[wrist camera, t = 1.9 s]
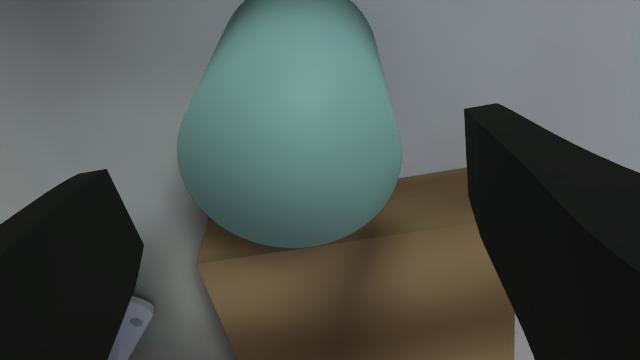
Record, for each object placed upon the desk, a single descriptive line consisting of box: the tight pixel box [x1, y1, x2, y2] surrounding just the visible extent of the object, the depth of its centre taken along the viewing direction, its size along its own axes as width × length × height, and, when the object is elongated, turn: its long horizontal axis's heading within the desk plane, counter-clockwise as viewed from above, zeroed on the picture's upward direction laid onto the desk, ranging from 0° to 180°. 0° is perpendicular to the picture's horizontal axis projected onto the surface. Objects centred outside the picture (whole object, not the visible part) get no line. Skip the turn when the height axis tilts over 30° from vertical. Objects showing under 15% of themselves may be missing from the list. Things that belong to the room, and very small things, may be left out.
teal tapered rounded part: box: [177, 0, 402, 248], centre depth 14 cm, size 5×5×6 cm
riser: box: [196, 168, 515, 360], centre depth 20 cm, size 10×10×3 cm
